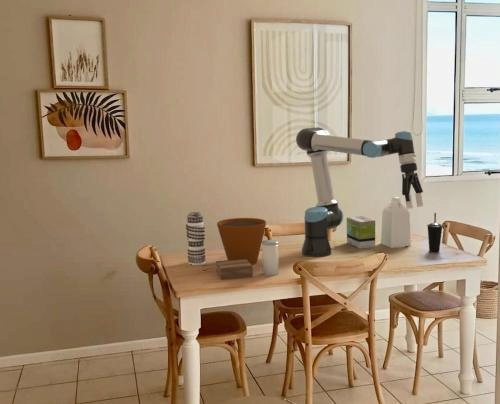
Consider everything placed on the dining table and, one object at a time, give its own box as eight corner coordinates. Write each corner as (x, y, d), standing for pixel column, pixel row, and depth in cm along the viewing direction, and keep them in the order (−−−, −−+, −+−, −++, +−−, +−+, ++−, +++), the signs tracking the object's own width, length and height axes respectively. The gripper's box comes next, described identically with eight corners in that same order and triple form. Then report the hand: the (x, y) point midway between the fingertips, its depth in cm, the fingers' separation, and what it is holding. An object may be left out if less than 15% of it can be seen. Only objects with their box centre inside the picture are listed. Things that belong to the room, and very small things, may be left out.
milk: (410, 246, 300) (411, 198, 296) (391, 247, 297) (391, 199, 293) (399, 241, 311) (400, 195, 308) (380, 243, 309) (381, 196, 305)
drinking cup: (445, 252, 284) (446, 213, 281) (433, 254, 281) (434, 214, 278) (435, 249, 291) (436, 211, 288) (423, 250, 288) (424, 212, 285)
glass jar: (261, 272, 255) (260, 240, 253) (276, 271, 257) (275, 239, 255) (264, 276, 248) (264, 243, 246) (280, 275, 250) (280, 242, 248)
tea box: (346, 243, 311) (346, 217, 309) (362, 241, 314) (362, 215, 312) (359, 248, 297) (359, 221, 295) (376, 247, 300) (376, 219, 298)
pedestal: (216, 271, 258) (216, 261, 258) (246, 269, 261) (246, 258, 261) (221, 279, 245) (221, 268, 244) (252, 277, 248) (252, 266, 247)
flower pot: (276, 261, 275) (276, 221, 272) (241, 271, 258) (240, 228, 256) (243, 254, 292) (242, 216, 289) (208, 262, 275) (207, 222, 272)
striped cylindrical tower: (185, 261, 278) (183, 212, 275) (203, 259, 281) (201, 210, 278) (190, 266, 270) (187, 214, 266) (208, 264, 273) (206, 213, 269)
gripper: (405, 162, 255) (413, 208, 254) (424, 162, 275) (431, 204, 274) (390, 165, 260) (397, 210, 259) (410, 164, 280) (416, 206, 279)
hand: (415, 207), depth 267 cm, fingers open, 13 cm apart
